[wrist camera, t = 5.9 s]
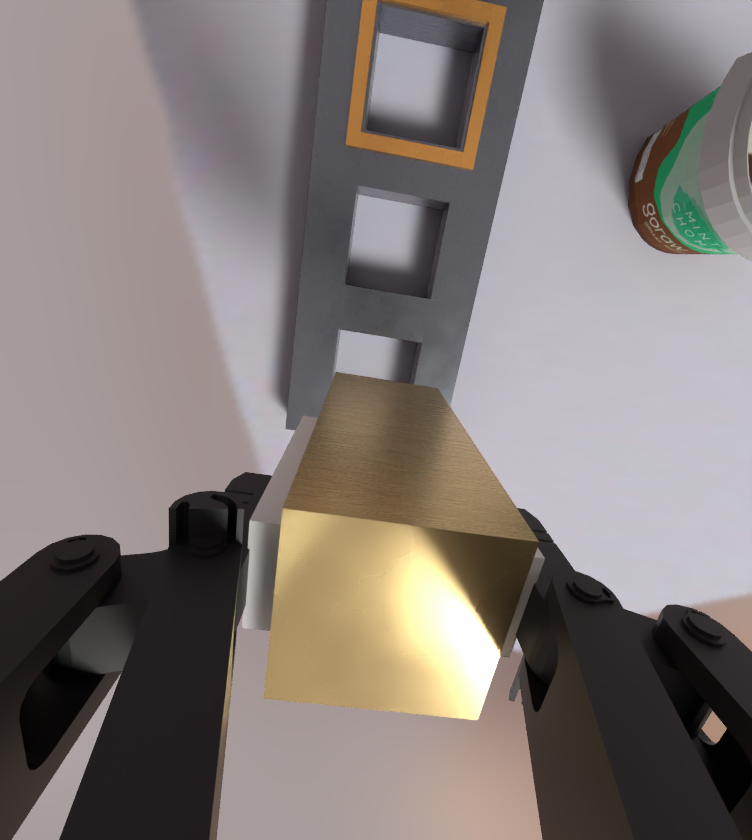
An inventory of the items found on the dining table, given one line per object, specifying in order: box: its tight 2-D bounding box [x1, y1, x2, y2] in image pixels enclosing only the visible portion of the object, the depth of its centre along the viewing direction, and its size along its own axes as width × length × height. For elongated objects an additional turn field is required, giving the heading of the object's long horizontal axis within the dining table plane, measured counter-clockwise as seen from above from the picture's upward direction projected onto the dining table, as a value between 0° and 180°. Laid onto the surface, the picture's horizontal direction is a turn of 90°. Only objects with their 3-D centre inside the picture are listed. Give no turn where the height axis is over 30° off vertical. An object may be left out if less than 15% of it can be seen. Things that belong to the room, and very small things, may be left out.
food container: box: [628, 53, 752, 261], centre depth 23 cm, size 12×6×10 cm, turn 60°
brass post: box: [264, 372, 539, 720], centre depth 13 cm, size 4×4×11 cm
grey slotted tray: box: [286, 0, 544, 430], centre depth 27 cm, size 28×12×3 cm, turn 171°
